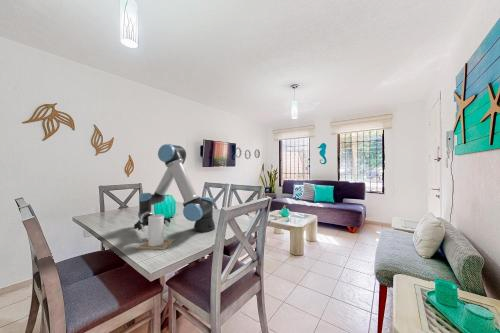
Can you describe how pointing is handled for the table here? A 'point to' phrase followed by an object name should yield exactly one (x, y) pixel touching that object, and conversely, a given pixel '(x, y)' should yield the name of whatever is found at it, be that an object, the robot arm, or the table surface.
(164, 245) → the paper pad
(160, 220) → the cup
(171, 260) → the table surface
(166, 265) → the table surface
